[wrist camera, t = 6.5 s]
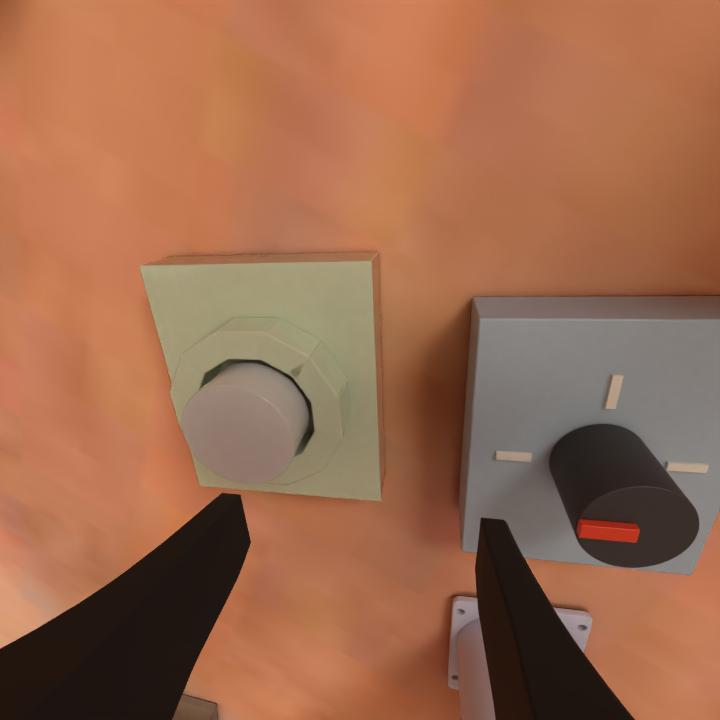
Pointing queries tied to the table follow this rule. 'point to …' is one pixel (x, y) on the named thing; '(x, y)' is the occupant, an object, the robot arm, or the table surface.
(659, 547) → the lock dial
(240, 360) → the button base
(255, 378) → the button
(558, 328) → the dial panel
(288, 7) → the table surface
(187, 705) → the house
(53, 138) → the table surface
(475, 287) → the table surface
